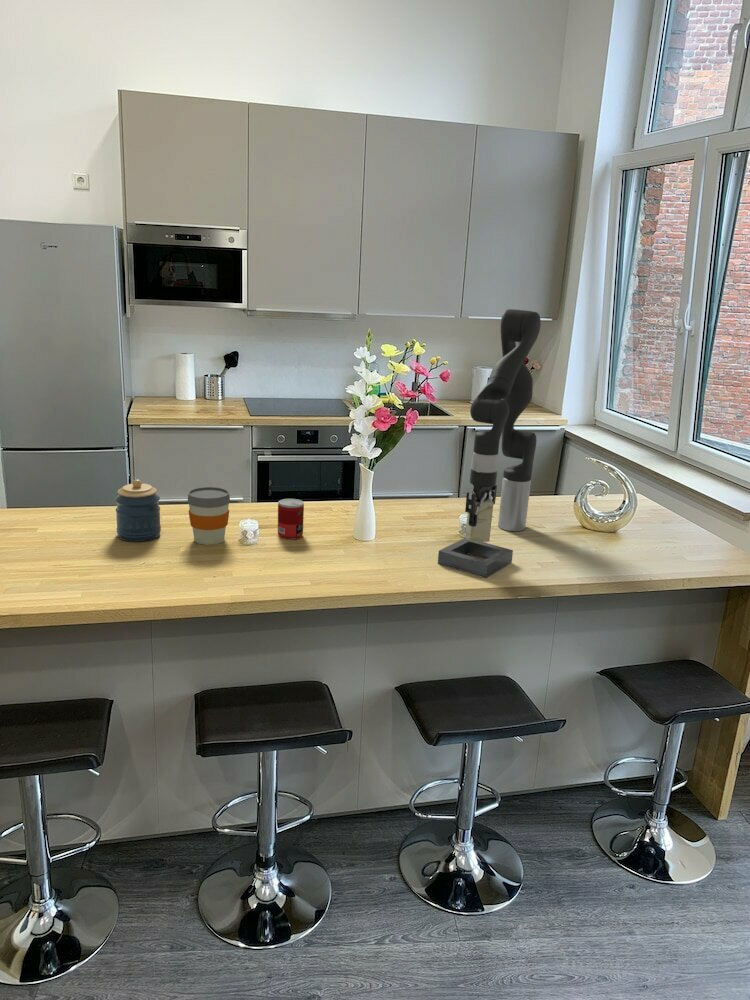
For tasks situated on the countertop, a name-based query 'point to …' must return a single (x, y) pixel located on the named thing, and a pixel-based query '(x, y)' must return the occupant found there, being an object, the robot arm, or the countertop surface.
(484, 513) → the skincare box
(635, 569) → the countertop surface
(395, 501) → the countertop surface
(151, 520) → the canister
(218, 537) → the reusable coffee cup
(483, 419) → the robot arm
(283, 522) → the canned food
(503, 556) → the dark grey square frame
